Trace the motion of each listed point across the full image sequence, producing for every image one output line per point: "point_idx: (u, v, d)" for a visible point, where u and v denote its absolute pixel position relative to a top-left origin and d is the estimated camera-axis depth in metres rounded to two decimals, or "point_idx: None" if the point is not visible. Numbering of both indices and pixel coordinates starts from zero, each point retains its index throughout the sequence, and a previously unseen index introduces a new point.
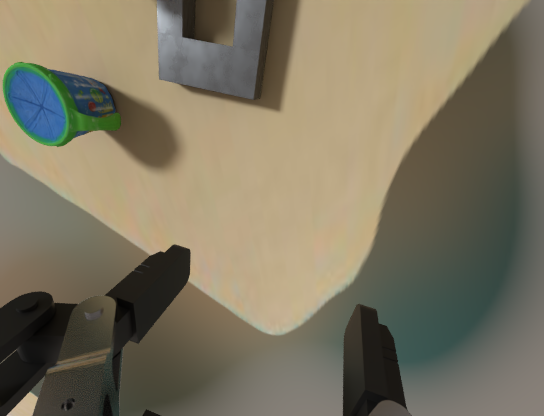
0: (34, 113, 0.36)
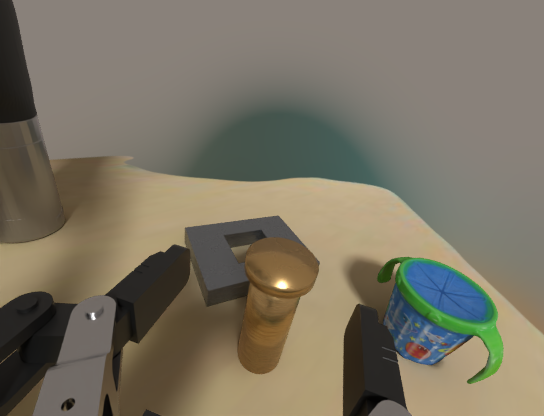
0: (459, 297, 0.30)
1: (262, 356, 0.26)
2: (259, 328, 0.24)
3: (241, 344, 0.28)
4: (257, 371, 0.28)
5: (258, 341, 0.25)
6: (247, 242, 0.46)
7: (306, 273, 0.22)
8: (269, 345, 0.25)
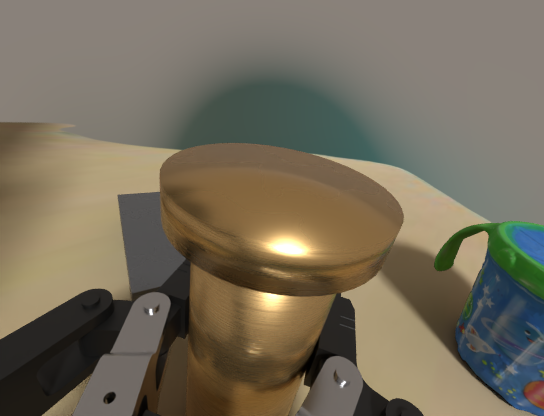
0: None
1: None
2: (221, 389, 0.08)
3: None
4: None
5: None
6: None
7: (367, 208, 0.07)
8: None
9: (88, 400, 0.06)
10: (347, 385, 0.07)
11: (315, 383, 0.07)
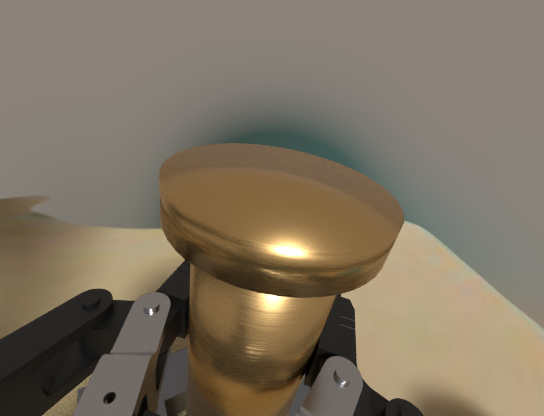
0: None
1: None
2: (221, 390, 0.08)
3: None
4: None
5: None
6: None
7: (368, 209, 0.07)
8: None
9: (88, 400, 0.06)
10: (347, 385, 0.07)
11: (315, 383, 0.07)
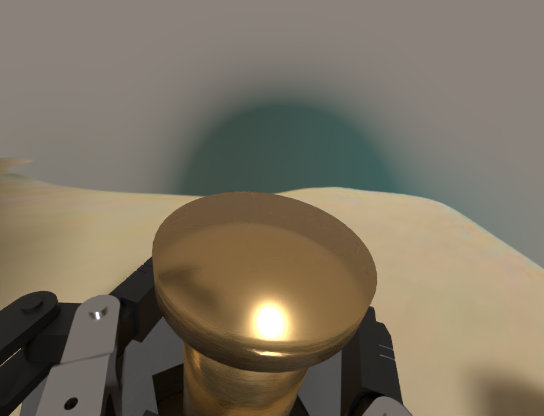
0: None
1: None
2: None
3: None
4: None
5: None
6: None
7: (343, 277, 0.07)
8: None
9: (46, 412, 0.05)
10: None
11: None
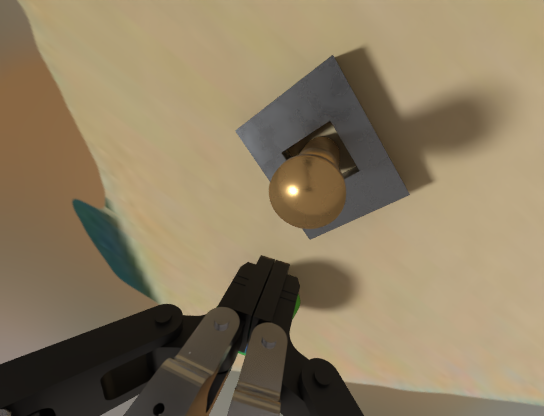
0: None
1: None
2: None
3: (309, 143, 0.32)
4: None
5: None
6: None
7: (293, 216, 0.23)
8: None
9: (142, 402, 0.06)
10: (271, 346, 0.08)
11: (246, 355, 0.08)
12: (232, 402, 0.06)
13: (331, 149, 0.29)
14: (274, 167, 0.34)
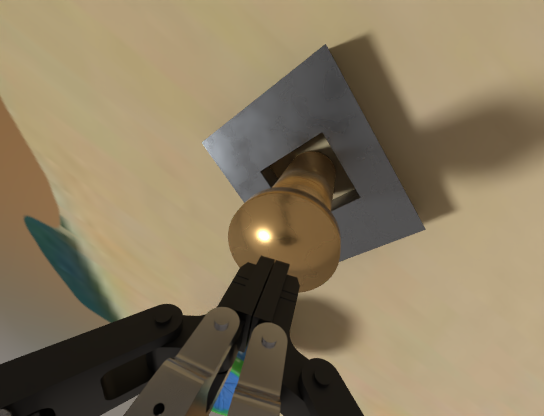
0: None
1: None
2: None
3: (295, 160, 0.24)
4: None
5: None
6: None
7: None
8: None
9: (142, 402, 0.06)
10: (271, 346, 0.08)
11: (246, 355, 0.08)
12: (232, 402, 0.06)
13: (323, 170, 0.22)
14: (252, 189, 0.26)
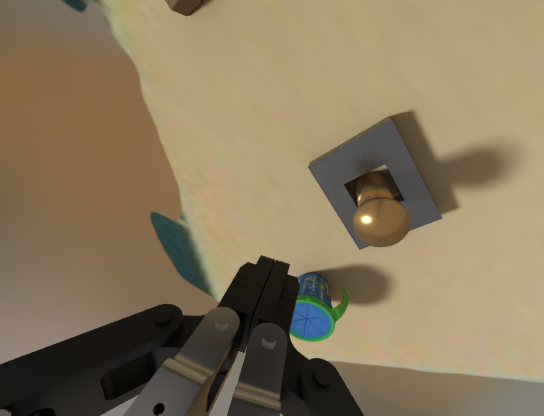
0: (303, 324, 0.50)
1: None
2: (359, 197, 0.38)
3: (366, 178, 0.42)
4: (356, 186, 0.45)
5: (358, 193, 0.40)
6: None
7: (369, 238, 0.33)
8: None
9: (142, 402, 0.06)
10: (271, 346, 0.08)
11: (246, 355, 0.08)
12: (232, 402, 0.06)
13: (386, 185, 0.39)
14: (336, 195, 0.44)
